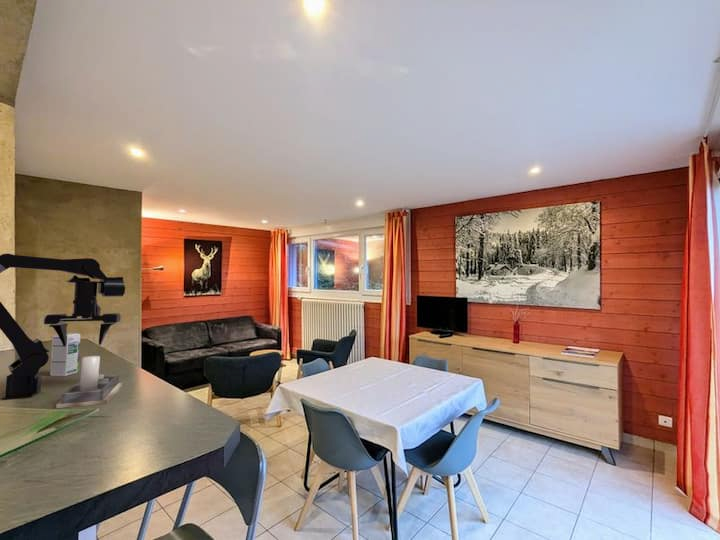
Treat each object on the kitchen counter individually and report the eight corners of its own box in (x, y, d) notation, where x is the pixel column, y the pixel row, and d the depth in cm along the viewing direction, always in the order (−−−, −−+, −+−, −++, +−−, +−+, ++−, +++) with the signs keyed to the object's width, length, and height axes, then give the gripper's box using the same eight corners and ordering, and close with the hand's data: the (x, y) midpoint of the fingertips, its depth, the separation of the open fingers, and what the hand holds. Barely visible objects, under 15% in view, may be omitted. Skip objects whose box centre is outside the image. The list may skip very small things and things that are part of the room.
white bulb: (72, 400, 94) (75, 359, 95) (78, 394, 99) (82, 355, 100) (97, 398, 96) (100, 358, 97) (102, 393, 101) (105, 355, 102)
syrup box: (65, 376, 122) (68, 335, 123) (49, 376, 122) (52, 334, 123) (78, 372, 128) (81, 333, 129) (63, 372, 128) (66, 332, 129)
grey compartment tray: (56, 408, 91) (57, 388, 91) (79, 389, 108) (80, 372, 108) (106, 403, 95) (107, 385, 96) (121, 385, 112) (122, 370, 112)
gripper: (125, 296, 123) (123, 340, 123) (59, 296, 116) (56, 342, 115) (117, 297, 113) (115, 345, 112) (44, 297, 106) (41, 348, 105)
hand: (82, 345), depth 111 cm, fingers open, 9 cm apart
